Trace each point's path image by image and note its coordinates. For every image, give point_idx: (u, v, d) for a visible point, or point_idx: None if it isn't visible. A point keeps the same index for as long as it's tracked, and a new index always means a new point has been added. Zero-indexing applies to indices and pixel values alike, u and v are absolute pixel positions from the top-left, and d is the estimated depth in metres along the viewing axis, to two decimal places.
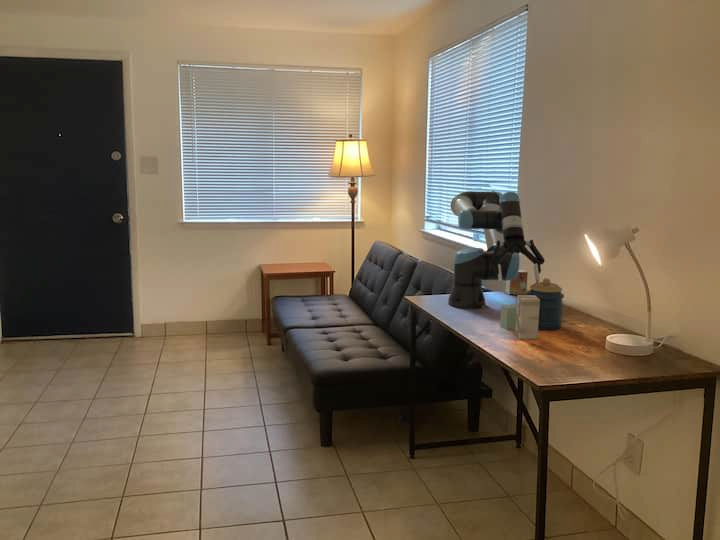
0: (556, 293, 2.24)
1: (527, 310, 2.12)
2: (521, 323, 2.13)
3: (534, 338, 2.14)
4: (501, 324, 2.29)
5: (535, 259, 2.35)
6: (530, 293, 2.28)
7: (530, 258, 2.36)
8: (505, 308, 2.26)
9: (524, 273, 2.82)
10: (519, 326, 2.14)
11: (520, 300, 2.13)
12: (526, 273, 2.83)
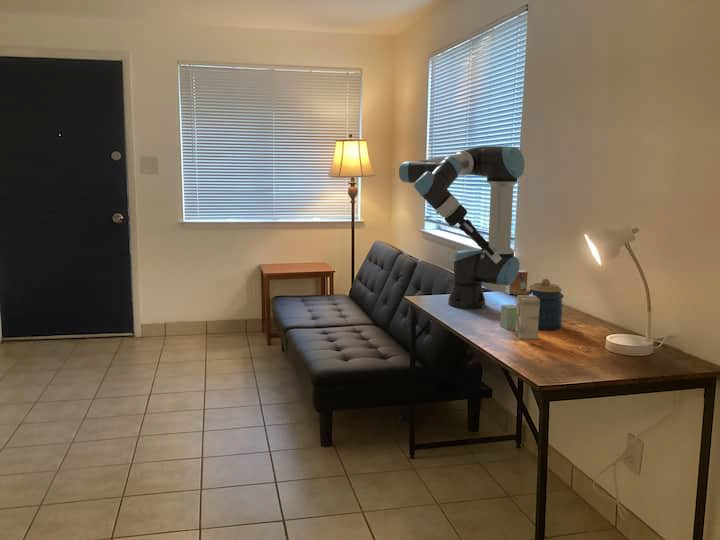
0: (555, 293, 2.25)
1: (527, 310, 2.12)
2: (521, 323, 2.13)
3: (534, 338, 2.14)
4: (501, 324, 2.29)
5: (479, 245, 2.13)
6: (530, 293, 2.28)
7: None
8: (505, 308, 2.26)
9: (524, 273, 2.82)
10: (519, 326, 2.14)
11: (520, 300, 2.13)
12: (526, 273, 2.83)
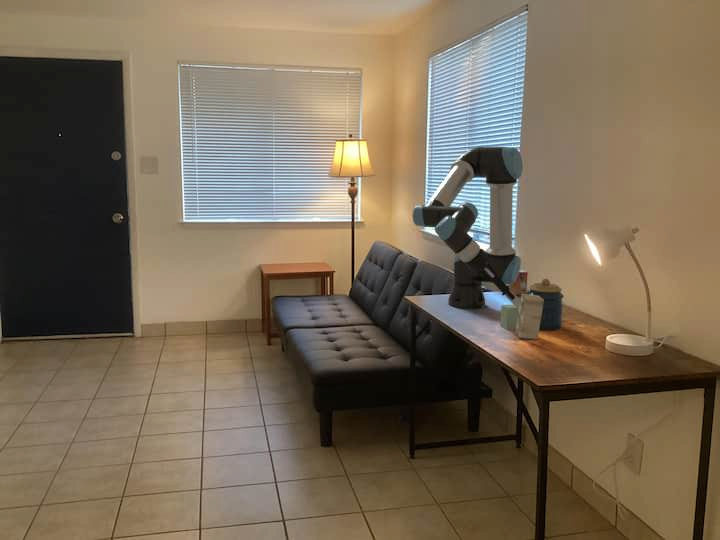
0: (555, 293, 2.25)
1: (530, 309, 2.12)
2: (523, 321, 2.13)
3: (534, 338, 2.14)
4: (501, 324, 2.29)
5: None
6: (530, 293, 2.28)
7: None
8: (505, 308, 2.26)
9: (524, 273, 2.82)
10: (520, 324, 2.14)
11: (524, 299, 2.13)
12: (526, 273, 2.83)
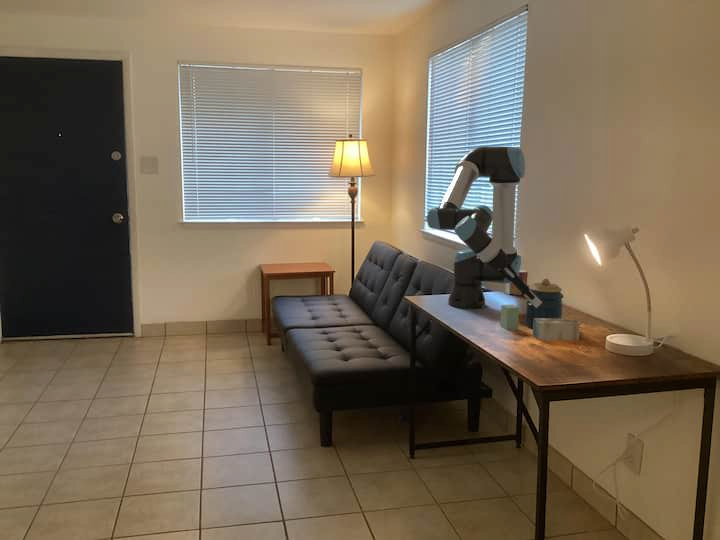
0: (555, 293, 2.25)
1: (568, 328, 2.13)
2: (555, 323, 2.13)
3: (539, 337, 2.14)
4: (501, 324, 2.29)
5: (520, 290, 2.12)
6: None
7: None
8: (505, 308, 2.26)
9: (524, 273, 2.82)
10: (550, 322, 2.14)
11: (575, 321, 2.15)
12: (526, 273, 2.83)
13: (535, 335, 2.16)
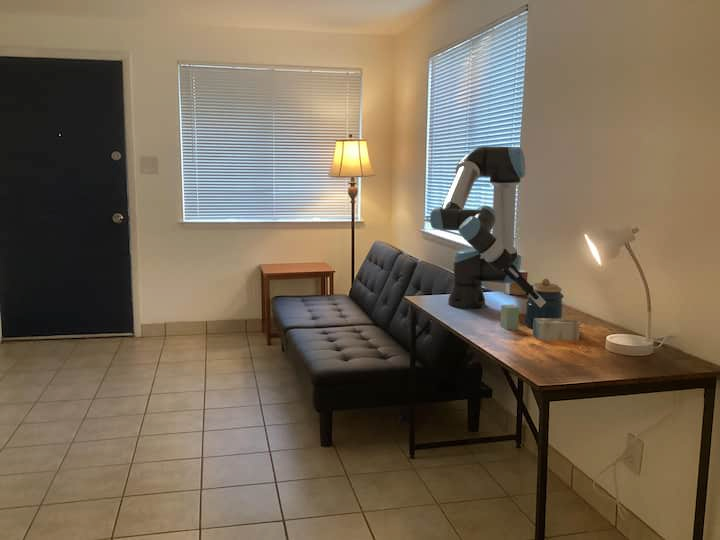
0: (555, 293, 2.25)
1: (568, 328, 2.13)
2: (555, 323, 2.13)
3: (539, 337, 2.14)
4: (501, 324, 2.29)
5: None
6: None
7: None
8: (505, 308, 2.26)
9: (524, 273, 2.82)
10: (550, 321, 2.14)
11: (575, 321, 2.15)
12: (526, 273, 2.83)
13: (535, 335, 2.16)
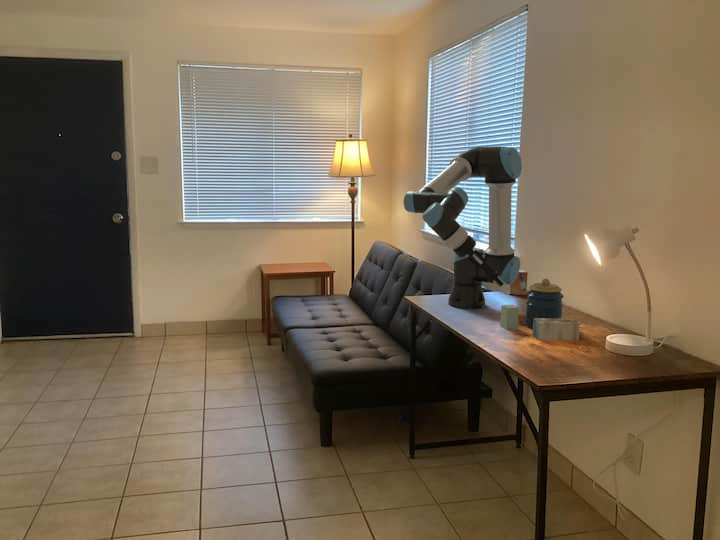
0: (555, 293, 2.25)
1: (568, 328, 2.13)
2: (555, 323, 2.13)
3: (539, 337, 2.14)
4: (501, 324, 2.29)
5: None
6: (530, 293, 2.28)
7: None
8: (505, 308, 2.26)
9: (524, 273, 2.82)
10: (550, 321, 2.14)
11: (575, 321, 2.15)
12: (526, 273, 2.83)
13: (535, 335, 2.16)
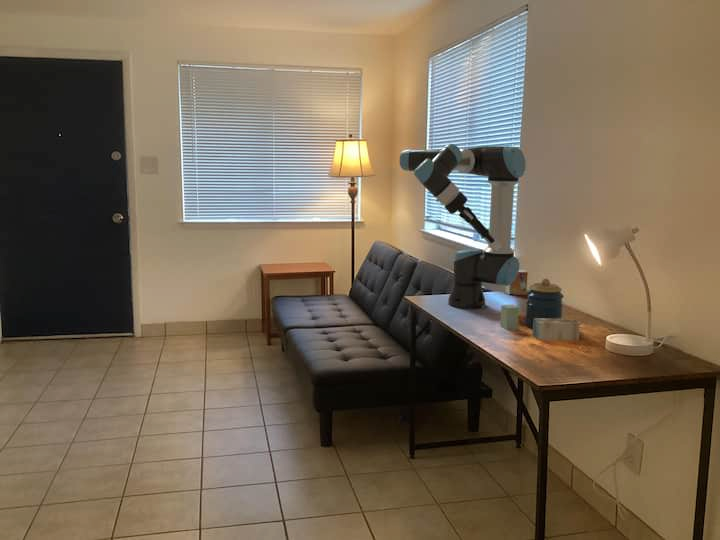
0: (555, 293, 2.25)
1: (568, 328, 2.13)
2: (555, 323, 2.13)
3: (539, 337, 2.14)
4: (501, 324, 2.29)
5: (479, 233, 2.13)
6: (530, 293, 2.28)
7: None
8: (505, 308, 2.26)
9: (524, 273, 2.82)
10: (550, 322, 2.14)
11: (575, 321, 2.15)
12: (526, 273, 2.83)
13: (535, 335, 2.16)
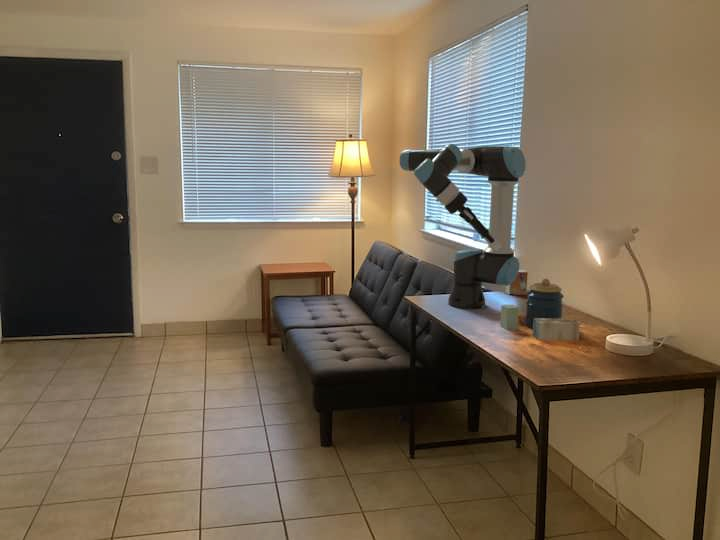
0: (555, 293, 2.25)
1: (568, 328, 2.13)
2: (555, 323, 2.13)
3: (539, 337, 2.14)
4: (501, 324, 2.29)
5: (479, 233, 2.13)
6: (530, 293, 2.28)
7: None
8: (505, 308, 2.26)
9: (524, 273, 2.82)
10: (550, 322, 2.14)
11: (575, 321, 2.15)
12: (526, 273, 2.83)
13: (535, 335, 2.16)
